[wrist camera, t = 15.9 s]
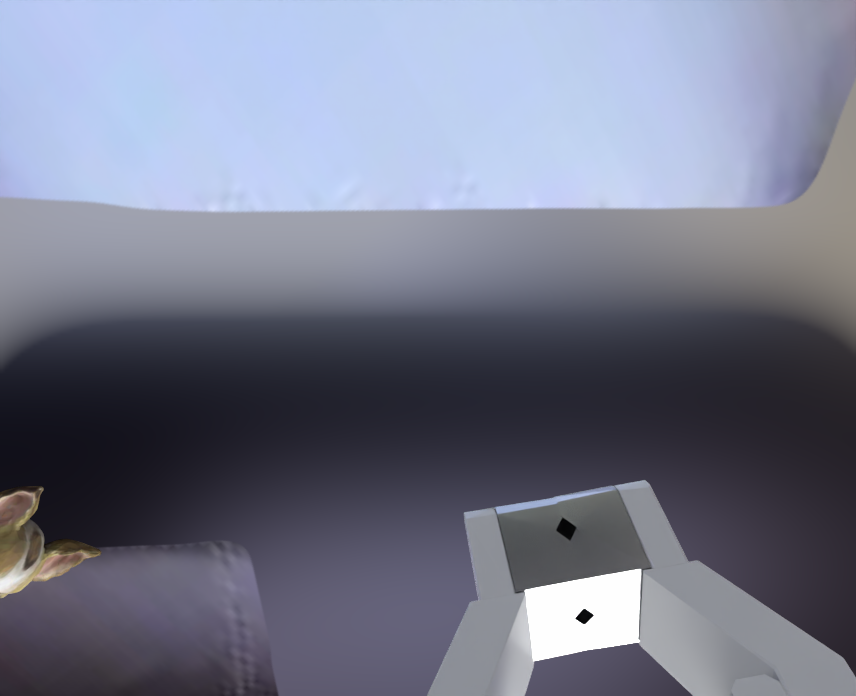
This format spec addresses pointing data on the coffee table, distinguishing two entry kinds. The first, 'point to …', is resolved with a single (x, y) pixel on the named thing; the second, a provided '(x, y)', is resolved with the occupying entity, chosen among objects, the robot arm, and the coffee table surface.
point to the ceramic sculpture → (31, 544)
